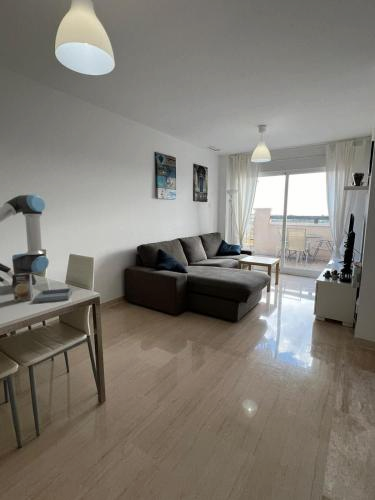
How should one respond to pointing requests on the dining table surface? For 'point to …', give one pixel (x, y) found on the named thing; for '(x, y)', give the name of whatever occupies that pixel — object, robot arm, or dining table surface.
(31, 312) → the dining table surface
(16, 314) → the dining table surface
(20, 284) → the coffee box
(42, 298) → the tray
